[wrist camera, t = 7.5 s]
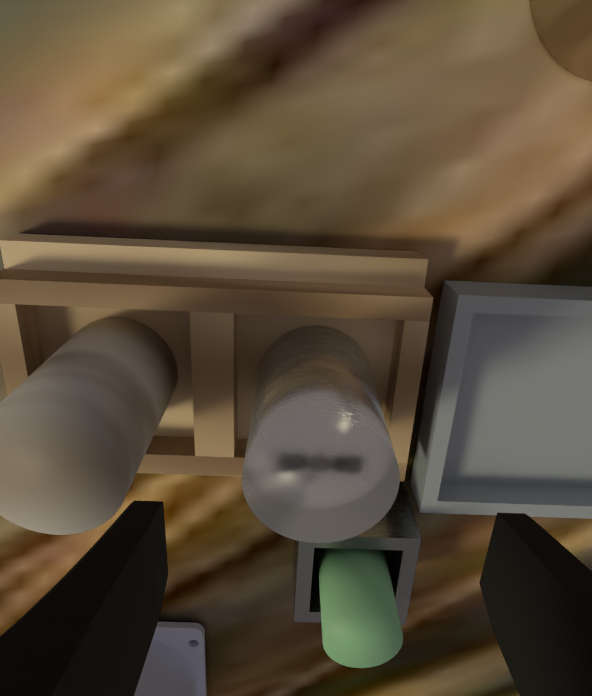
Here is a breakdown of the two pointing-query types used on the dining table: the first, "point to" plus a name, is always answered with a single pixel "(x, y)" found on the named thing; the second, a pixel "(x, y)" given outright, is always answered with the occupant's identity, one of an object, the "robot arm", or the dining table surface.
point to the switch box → (388, 534)
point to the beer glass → (566, 33)
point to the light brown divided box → (174, 357)
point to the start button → (358, 607)
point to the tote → (508, 403)
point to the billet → (318, 440)
